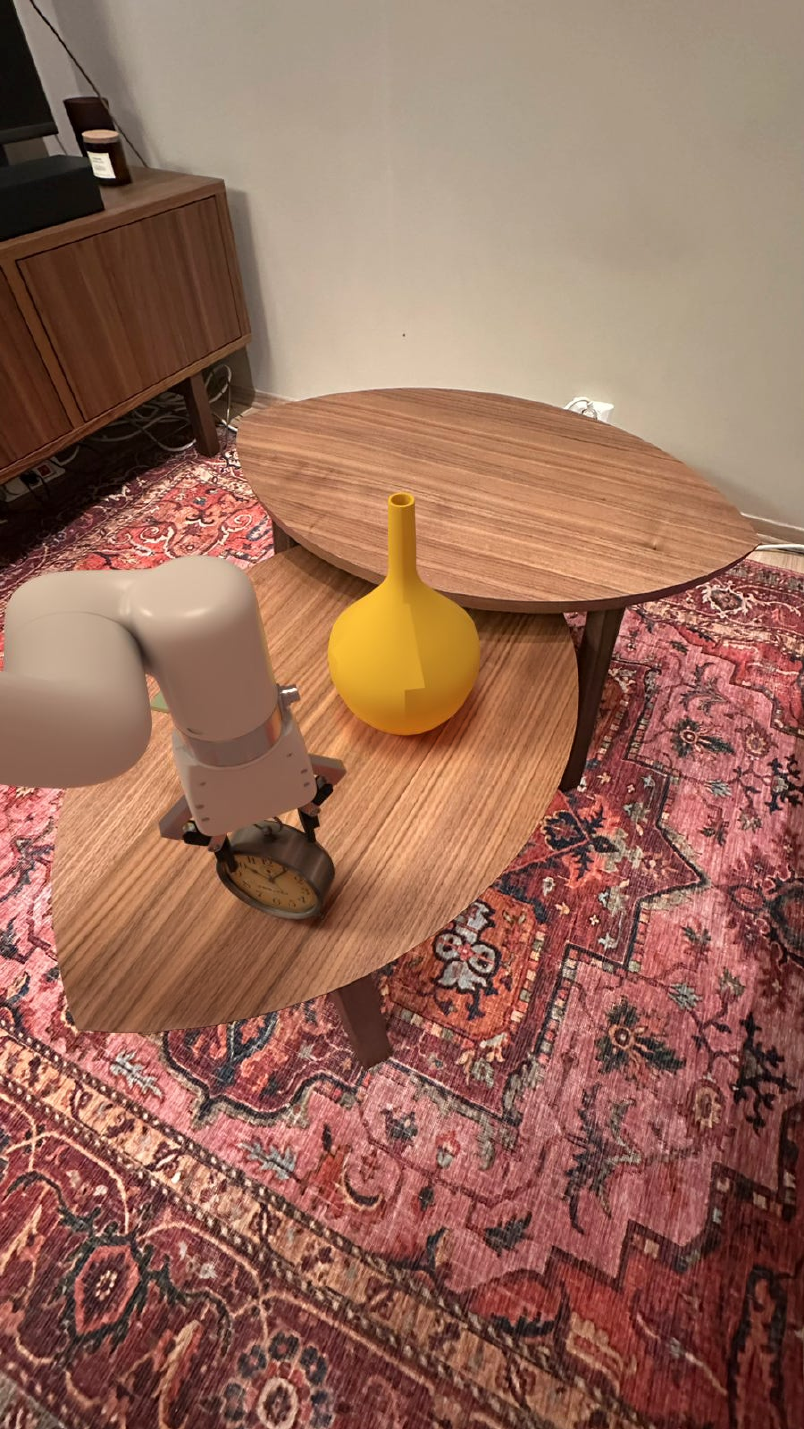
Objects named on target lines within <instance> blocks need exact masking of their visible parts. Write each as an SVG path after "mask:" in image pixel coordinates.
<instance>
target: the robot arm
mask: <svg viewBox="0 0 804 1429" xmlns="http://www.w3.org/2000/svg"><path fill="white" fill-rule="evenodd" d="M4 612H5V613H4V617H3V618H4V621H3V657H2V670H0V785H2V786H3V785H4V786H11V787H20V788H21V787H22V788H31V789H50V790H51V789H52V790H62V789H64V790H65V789H66V790H67V789H80V788H87V787H92V786H98V785H101V784H104V783H105V784H106V783H107V782H110V781H113V780H115V779H117V778H120V777H122V776H123V775H125V774H126V773H128V772H129V771H130V770H131V769H133V768H134V767H135V766H136V765H137V764H138V763H139V761H140V760H141V759H142V758H143V756H144V755H145V753H146V751H147V749H148V746H149V745H150V741H151V738H152V730H153V715H152V709H151V707H150V704H151V700H150V694H149V687H148V681H147V677H146V676H149V677H152V678H153V679H154V681H156V683H157V686H158V689H159V691H161V693H162V696H163V698H164V700H165V703H166V705H167V708H168V710H169V712H170V713H169V715H170V718H171V720H172V722H173V725H174V729H173V731H172V734H171V749H172V756H173V761H174V764H175V768H176V773H177V776H178V778H179V781H180V784H181V788H182V790H183V791H182V792H183V795H182V796H181V797H180V798H178V800H177V801H176V802H175V803H174V804H173V806H172V807H171V808H170V809H169V810H168V811H167V812H166V813H165V814H164V816H163V817H161V818H160V820H159V821H158V823H157V825H158V830H159V834H160V837H161V838H163V839H168V840H174V841H178V842H179V841H180V840H181V841H183V842H184V844H186V845H191V846H199V847H205V848H206V849H207V852H209V853H213V854H214V856H215V859H216V862H217V861H218V863H222V862H224V861H226V863H227V866H228V868H229V870H230V873H233V872H236V870H237V869H238V867H237V864H236V860H235V857H234V854H233V850H232V847H231V844H230V841H229V839H230V838H229V836H228V834H230V833H233V832H234V831H235V830H238V829H241V828H244V827H247V826H250V825H253V824H256V823H258V822H261V821H264V820H270V819H273V818H272V817H275V816H277V817H278V816H281V815H284V814H286V813H288V812H291V811H294V810H297V814H298V818H299V821H300V824H301V826H302V829H303V832H304V833H305V834H306V837H307V839H308V842H309V843H310V842H311V843H314V842H318V839H317V836H316V832H315V831H316V830H315V829H318V828H320V827H321V825H320V824H321V823H320V819H319V815H320V814H321V812H322V809H321V805H323V804H324V803H325V801H327V800H328V798H329V797H330V796H331V795H332V794H333V793H334V790H335V789H334V787H335V786H338V784H339V783H340V782H341V781H342V780H343V778H344V777H346V775H347V773H348V771H347V769H346V767H345V765H344V762H343V760H341V759H339V758H334V757H329V756H326V755H320V754H315V753H311V752H308V749H307V746H306V745H307V744H306V742H305V739H304V736H303V734H302V731H301V727H300V725H299V724H298V721H297V718H296V716H295V714H294V711H293V709H292V708H291V706H292V704H294V703H297V702H300V701H301V695H300V692H299V689H298V687H297V685H296V683H293V684H290V685H285V684H283V685H280V683H279V682H277V681H276V676H275V673H274V667H273V664H272V663H273V662H272V659H271V653H270V650H269V645H268V640H267V636H266V632H265V627H264V623H263V619H262V614H261V610H260V605H259V600H258V596H257V593H256V590H255V586H254V584H253V583H252V580H251V578H250V577H249V576H248V574H247V573H246V572H245V571H244V570H243V569H242V568H241V567H239V565H237V564H235V563H234V562H232V561H230V560H228V559H226V558H222V557H220V556H214V555H207V554H196V555H195V554H193V555H185V556H184V555H183V556H180V557H176V558H172V559H170V560H167V561H164V562H163V563H161V564H158V565H157V566H155V567H152V568H151V567H150V568H135V569H79V570H78V569H77V570H62V571H54V572H49V573H46V574H41V575H38V576H36V577H34V578H31V579H29V580H26V581H25V582H24V583H22V584H21V585H20V586H19V587H18V588H17V589H16V590H15V591H14V592H13V593H12V595H11V596H10V598H9V600H8V602H7V604H6V607H5V611H4ZM192 818H193V819H192Z"/></svg>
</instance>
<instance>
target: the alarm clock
mask: <svg viewBox="0 0 804 1429" xmlns="http://www.w3.org/2000/svg"><path fill="white" fill-rule="evenodd" d="M271 819H273V820H270V819H267V820H264V821H261V822H258V823H256V824H253V825H250V826H247V827H244V828H241V829H238V830H235V831H233V832H232V834H231V835H230V837H229V838H228V839H229V841H230V844H231V847H232V850H233V854H234V857H235V860H236V864H237V867H238V869H237V870H236V872H233V873H230V870H229V868H228V866H227V863H226V861H224V862H222V863H218V861H217V860H216V863H215V870H216V874H217V876H218V878H219V880H220V881H221V883H222V884H223V885H224V887H225V888H226V889H227V890H228V891H229V892H230V893H231V894H232V895H233V896H235V897H236V898H237V899H238V900H240V901H241V902H243V903H245V905H248V906H250V908H251V907H252V908H254V909H255V910H256V911H257V910H258V911H259V912H261V913H264V914H266V915H269V916H273V917H275V918H280V919H284V920H293V921H302V920H309V919H312V918H314V917H317V918H318V920H319V921H322V922H323V921H324V920H325V919H326V917H325V915H324V913H321V912H322V911H323V908H324V904H325V902H326V900H327V897H328V895H329V892H331V891H330V890H331V888H332V886H333V883H334V881H335V877H336V868H335V864H334V861H333V859H332V857H331V855H330V854H329V852H328V851H327V850H326V848H324V846H323V845H322V844H320V842H319V841H317V842H314V843H311V842H310V843H309V842H308V839H307V837H306V834H305V832H304V830H300V829H299V828H296V827H295V826H292V825H289V824H287V823H283V821H282V820H281V819H280V818H279V817H278V816H275V817H272V818H271Z"/></svg>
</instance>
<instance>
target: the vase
mask: <svg viewBox="0 0 804 1429" xmlns="http://www.w3.org/2000/svg"><path fill="white" fill-rule="evenodd" d="M416 523H417V522H416V499H415V497H414V495H412V494H411V493H408V492H395V493H392V494H391V495H390V496H388V498H387V557H388V559H387V560H388V570H387V574H386V577H385V578H384V580H383V582H382V583H380V584H379V585H378V586H376V587H375V588H374V589H373V590H372V591H371V592H368V594H365V595H364V596H363V597H361V598H359V599H358V600H356V601H355V602H353V603H352V604H350V606H348V607H347V608H345V609H344V610H343V611H342V612H341V613H340V614H339V616H338V617H337V618H336V620H335V622H334V623H333V625H332V628H331V632H330V636H329V640H328V646H327V660H328V669H329V676H330V679H331V681H332V683H333V685H334V687H335V689H336V691H337V693H338V695H339V696H340V697H341V699H342V701H343V702H344V703H345V705H346V706H347V708H348V709H349V710H350V711H351V712H352V713H353V714H354V715H355V716H356V717H357V718H358V719H359V720H360V721H363V722H364V723H366V724H367V725H369V726H370V727H372V728H374V729H376V730H378V731H380V732H384V733H387V734H390V735H398V736H411V735H419V734H423V733H426V732H429V731H432V730H434V729H435V728H437V727H439V726H440V725H441V724H443V723H445V722H446V721H448V720H449V719H451V718H452V717H453V716H454V715H455V714H456V713H457V712H458V711H459V710H460V708H462V706H463V705H464V704H465V702H466V700H467V698H468V697H469V695H470V693H471V691H473V688H474V686H475V684H476V682H477V679H478V677H479V673H480V666H481V656H482V655H481V654H482V648H481V642H480V639H479V634H478V630H477V627H476V624H475V622H474V620H473V619H472V617H471V616H470V615H469V613H468V612H467V611H466V609H464V608H463V607H462V606H460V605H459V604H458V603H456V602H455V601H454V600H452V599H450V598H448V597H446V596H445V595H443V594H441V593H439V592H438V591H436V590H435V589H433V587H430V585H428V584H427V583H426V582H424V581H423V580H422V578H421V577H420V575H419V572H418V569H417V526H416Z"/></svg>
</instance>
